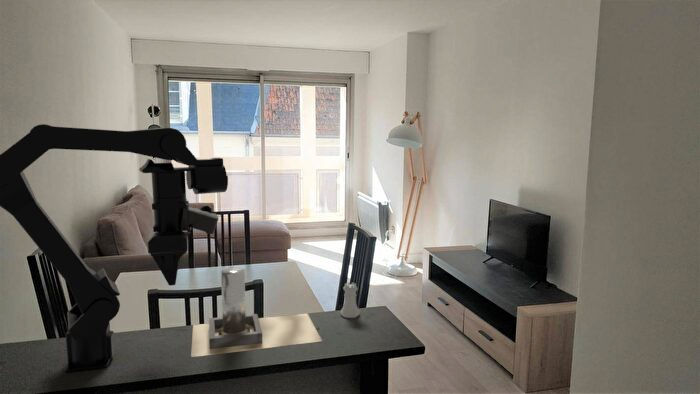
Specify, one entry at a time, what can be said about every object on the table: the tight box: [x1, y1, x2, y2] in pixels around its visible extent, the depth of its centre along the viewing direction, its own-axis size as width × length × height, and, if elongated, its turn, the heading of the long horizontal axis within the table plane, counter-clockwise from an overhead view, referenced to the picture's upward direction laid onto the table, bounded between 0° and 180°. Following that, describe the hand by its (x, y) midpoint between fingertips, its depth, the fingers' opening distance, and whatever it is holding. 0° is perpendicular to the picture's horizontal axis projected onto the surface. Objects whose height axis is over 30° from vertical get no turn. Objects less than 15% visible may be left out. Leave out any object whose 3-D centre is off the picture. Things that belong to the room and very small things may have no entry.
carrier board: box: [190, 313, 323, 358], centre depth 91 cm, size 24×14×3 cm, turn 107°
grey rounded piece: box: [219, 267, 250, 336], centre depth 89 cm, size 6×6×13 cm
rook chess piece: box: [340, 281, 361, 319], centre depth 101 cm, size 4×4×8 cm
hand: (174, 277), depth 87 cm, fingers open, 9 cm apart
